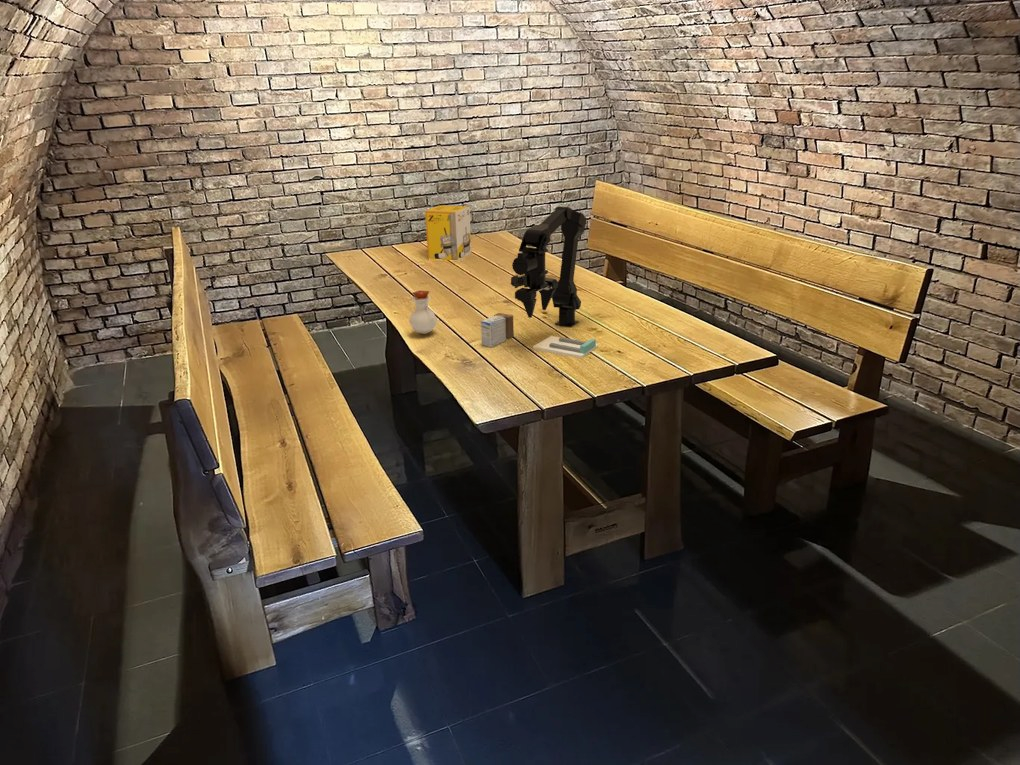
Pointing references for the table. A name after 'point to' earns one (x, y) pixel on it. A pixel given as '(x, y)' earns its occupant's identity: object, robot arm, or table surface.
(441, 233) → the packaging box
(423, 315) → the potion bottle
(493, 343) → the medicine box
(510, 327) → the panel
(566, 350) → the rail board
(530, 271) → the robot arm
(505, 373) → the table surface
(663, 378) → the table surface
